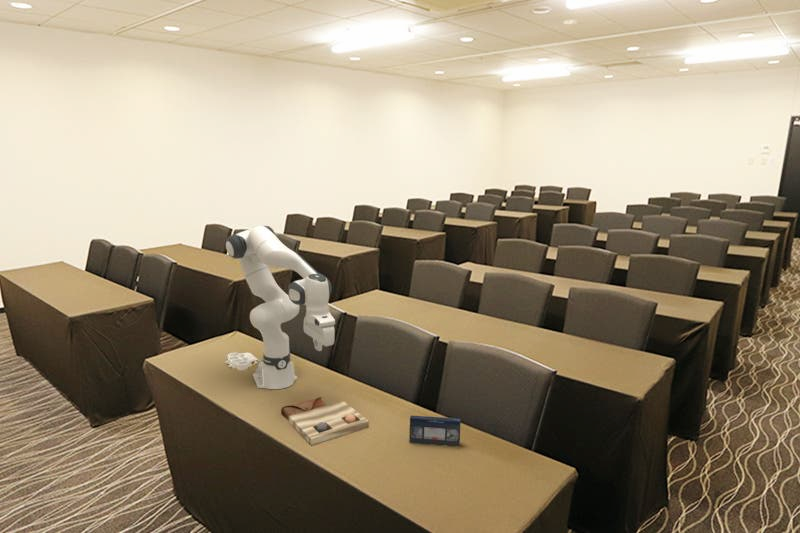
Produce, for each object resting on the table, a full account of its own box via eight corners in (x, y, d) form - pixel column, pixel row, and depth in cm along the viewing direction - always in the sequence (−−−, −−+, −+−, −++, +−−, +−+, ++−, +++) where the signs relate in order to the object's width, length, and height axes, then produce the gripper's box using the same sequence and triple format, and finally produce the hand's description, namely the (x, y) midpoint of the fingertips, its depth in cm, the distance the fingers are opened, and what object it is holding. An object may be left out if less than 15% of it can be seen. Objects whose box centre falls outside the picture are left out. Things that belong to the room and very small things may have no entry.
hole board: (288, 422, 201) (288, 416, 200) (343, 406, 214) (343, 400, 214) (311, 445, 185) (311, 439, 184) (368, 426, 198) (368, 420, 198)
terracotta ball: (346, 428, 198) (342, 419, 201) (355, 425, 201) (351, 416, 203) (349, 422, 196) (345, 413, 198) (358, 419, 198) (354, 411, 200)
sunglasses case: (289, 422, 200) (285, 405, 202) (283, 424, 206) (279, 407, 207) (330, 410, 210) (326, 394, 212) (323, 412, 216) (320, 397, 218)
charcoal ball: (318, 436, 191) (314, 429, 194) (328, 433, 194) (323, 426, 196) (320, 429, 189) (315, 421, 192) (329, 426, 192) (325, 418, 194)
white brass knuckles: (262, 367, 254) (232, 373, 245) (248, 355, 268) (220, 361, 259) (262, 360, 253) (232, 367, 244) (248, 349, 267) (220, 355, 259)
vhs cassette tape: (408, 443, 188) (409, 418, 186) (409, 438, 191) (410, 414, 189) (459, 447, 185) (460, 422, 183) (459, 443, 188) (461, 418, 186)
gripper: (299, 310, 206) (299, 343, 209) (322, 324, 190) (322, 359, 193) (313, 308, 210) (314, 340, 213) (337, 321, 194) (337, 356, 196)
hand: (318, 349), depth 203 cm, fingers closed
